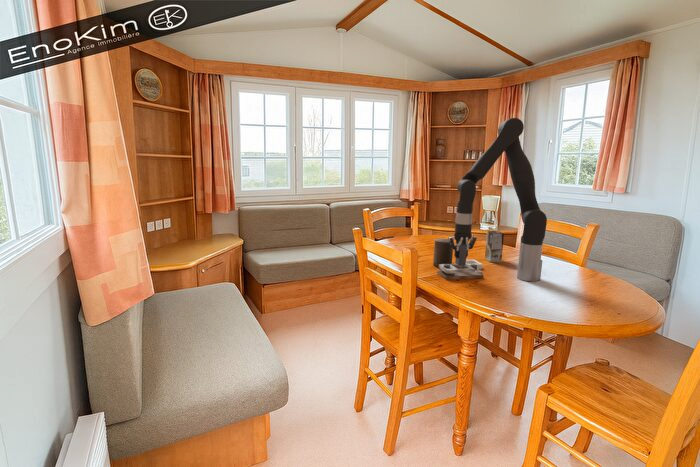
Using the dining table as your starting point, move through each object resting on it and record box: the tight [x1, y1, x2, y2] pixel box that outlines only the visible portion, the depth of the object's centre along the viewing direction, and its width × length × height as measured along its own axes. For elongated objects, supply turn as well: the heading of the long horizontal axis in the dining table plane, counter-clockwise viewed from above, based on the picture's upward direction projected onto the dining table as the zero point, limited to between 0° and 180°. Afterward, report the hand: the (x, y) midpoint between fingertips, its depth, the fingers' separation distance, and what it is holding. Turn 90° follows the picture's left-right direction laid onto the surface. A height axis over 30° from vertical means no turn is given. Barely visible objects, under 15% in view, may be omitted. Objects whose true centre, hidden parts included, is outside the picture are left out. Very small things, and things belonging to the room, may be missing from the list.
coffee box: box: [484, 230, 505, 263], centre depth 206 cm, size 9×6×16 cm
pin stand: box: [466, 259, 483, 270], centre depth 194 cm, size 9×9×2 cm
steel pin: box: [454, 243, 467, 265], centre depth 178 cm, size 4×4×10 cm
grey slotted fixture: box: [436, 263, 484, 281], centre depth 180 cm, size 19×10×6 cm, turn 100°
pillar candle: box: [432, 238, 454, 268], centre depth 195 cm, size 10×10×15 cm
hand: (460, 257), depth 178 cm, fingers closed on steel pin, 3 cm apart
